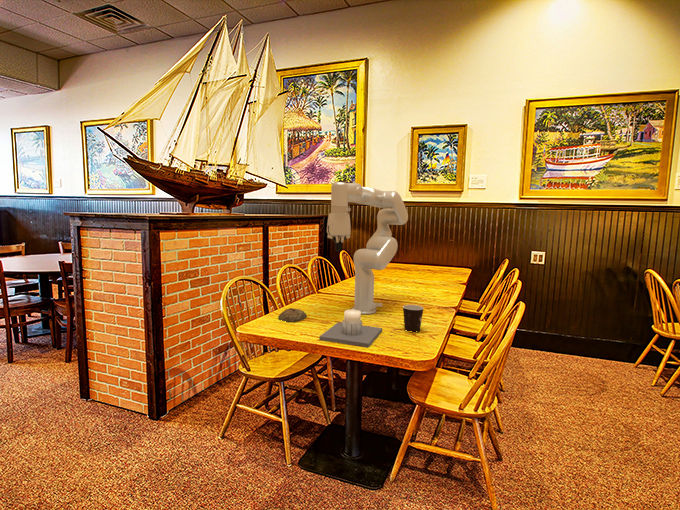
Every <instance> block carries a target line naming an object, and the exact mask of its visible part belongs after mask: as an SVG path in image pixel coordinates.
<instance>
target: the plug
mask: <svg viewBox="0 0 680 510" xmlns="http://www.w3.org/2000/svg"><path fill="white" fill-rule="evenodd" d="M361 315H362V314H361V311H359V310H353V309H346V310H344V315H343V316H344V317H343V320H344V322H346V323H349V324H357V323H360V322H361V321H362V319H361V317H362V316H361Z"/></svg>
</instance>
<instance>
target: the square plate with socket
mask: <svg viewBox="0 0 680 510" xmlns="http://www.w3.org/2000/svg"><path fill="white" fill-rule="evenodd" d="M382 332H383V327H378V326H369V325H363V321H362V320H361V322H360V323H357V324H349V323H346V322H344V319H343V320H342V321H341V322H337V323H335V324H333V326H331V327H330V328H329V329H327V330H326V331H324V332H323V333H322V334H320V336H319V341H324V342H329V341H330V342H331V343H336V342H337V343H338V344H342V345H343V344H344V345H349V346H356V347H363V348H368V347H369V346H370V347H371V346H372V344H373V343H374V342H375V341H376V339H377V338H378V337H379V336H380V335H381V333H382ZM379 334H380V335H379ZM374 340H375V341H374ZM370 347H369V348H370Z"/></svg>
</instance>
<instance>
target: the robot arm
mask: <svg viewBox="0 0 680 510" xmlns="http://www.w3.org/2000/svg"><path fill="white" fill-rule="evenodd" d="M330 189H331V191H330V192H331V193H330V195H331V196H330V206H331V207H330V213H328V218H327V223H326V225H327V226H326V234H327V237H326V238H328V239H331V240H333V242H334V249H335V252H337V253H338V252H343V251H342V250H343V243H344V241H346V239H350V238H351V229H352V228H351V218H350V217H351V216H350V214H349V212H350V211H351V210H352V208H351V207H349V203H355V204H360V205H365V206H366V205H367V206H370V207H371V206H372V207H375V208H381V209H380V210H379V211H378V213H377V215H376V220H377V223H376V224H377V228H376V230H375V232H374V233H373V234H372V236H371V237H370V238H369V240H368V241H367V243H366V246H365V247H366V248H360V249H357V250H356V251H355V252H354V254H353V265H354V276H355V277H354V306H353V307H351V309H353V310H359V311H361V315H372V314H375V313H377V308H380V307H383V303H382V302H374V298H375V297H374V295H375V294H374V293H375V292H374V291H375V275H374V272H373V270H374V271H375V270H376V271H377V270H378V271H382V270H384V269H385V268H387V266H388V265H389V264H390V262H391V261H392V259H393V258H394V257H395V255H396V254H397V252H398V247H399V246H398V241H397V239H396V238H394V237H392V235H393V234H392V230H391V228H390V225H392V226H393V225H396V226H401V225H406V224H407V222H408V220H409V214H408V209H407V208H406V206H405V202H404V200H403V199H402V196H401V195H400V193H399V192H397V191H395V190H380V189H376V188H373V187H367V186H366V187H365V186H362V185H361V184H359V183H357V182H344V181H343V182H340V181H337V182H332V184H331V188H330Z"/></svg>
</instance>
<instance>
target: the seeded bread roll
mask: <svg viewBox="0 0 680 510" xmlns="http://www.w3.org/2000/svg"><path fill="white" fill-rule="evenodd" d="M307 317H308V316H307V313H306V312H305V311H304V310H302V309H300V308H293V307H290V308H286V309H284V310H283V311H282V312H281V313H280V314H279V315H278V316H277V318H278V320H279V321H281V320H282V321H281V322H285V321H286V322H285V323H289V322H293V323H297V322H300V321H303V320H305V319H306V318H307ZM296 321H297V322H296Z"/></svg>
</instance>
